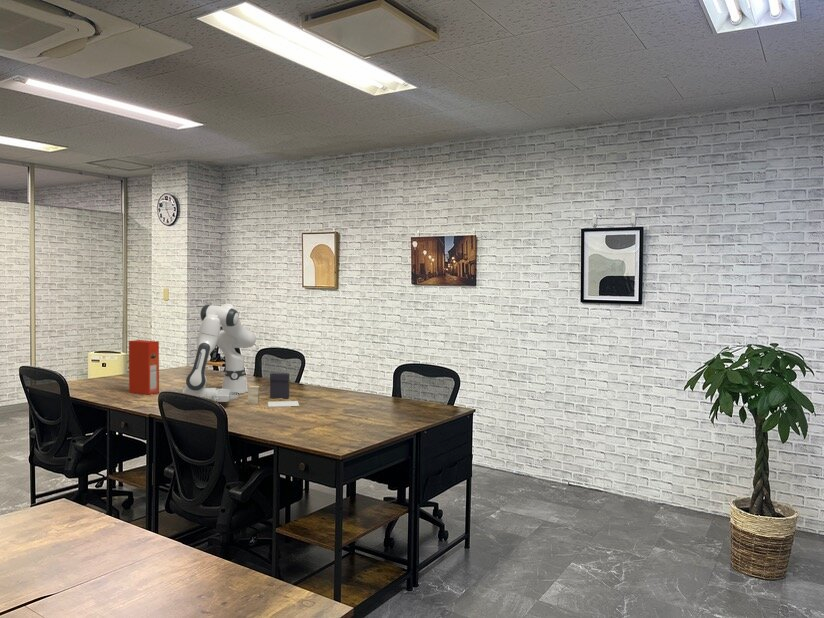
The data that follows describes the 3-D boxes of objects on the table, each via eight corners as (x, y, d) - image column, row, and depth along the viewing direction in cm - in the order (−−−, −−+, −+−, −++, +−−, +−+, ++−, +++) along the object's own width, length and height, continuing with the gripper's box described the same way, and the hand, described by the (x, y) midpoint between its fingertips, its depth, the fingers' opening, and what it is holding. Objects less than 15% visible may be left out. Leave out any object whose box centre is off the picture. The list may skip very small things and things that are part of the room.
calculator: (289, 397, 384) (289, 373, 384) (287, 399, 380) (287, 374, 379) (271, 397, 385) (272, 372, 385) (269, 398, 381) (269, 373, 380)
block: (248, 403, 364) (248, 386, 364) (259, 403, 366) (259, 386, 365) (248, 405, 360) (248, 387, 359) (259, 405, 361) (259, 387, 361)
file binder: (148, 395, 384) (148, 342, 382) (128, 392, 392) (128, 340, 390) (159, 393, 391) (159, 341, 389) (139, 390, 399) (139, 339, 397)
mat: (267, 402, 368) (267, 401, 368) (297, 401, 372) (297, 400, 372) (268, 407, 355) (268, 406, 355) (299, 406, 359) (299, 405, 359)
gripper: (211, 393, 347) (237, 392, 350) (214, 387, 367) (238, 386, 370) (211, 404, 347) (237, 404, 351) (213, 397, 367) (238, 397, 371)
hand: (238, 395), depth 361 cm, fingers open, 8 cm apart
